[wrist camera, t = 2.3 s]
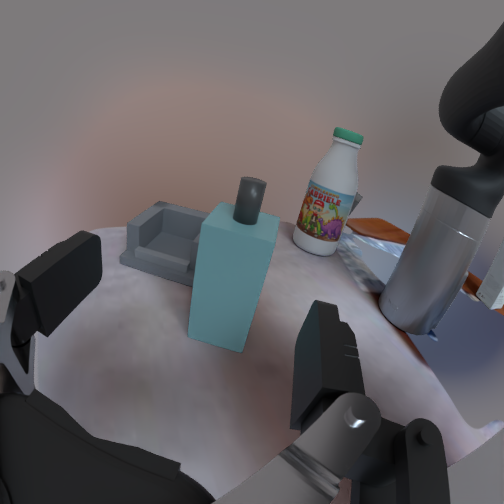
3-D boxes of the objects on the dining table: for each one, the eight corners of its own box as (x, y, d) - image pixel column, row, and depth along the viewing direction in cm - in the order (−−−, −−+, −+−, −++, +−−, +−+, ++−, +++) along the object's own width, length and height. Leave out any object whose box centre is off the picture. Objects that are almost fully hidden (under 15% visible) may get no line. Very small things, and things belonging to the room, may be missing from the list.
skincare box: (489, 310, 40) (522, 250, 33) (473, 294, 45) (503, 235, 38) (501, 308, 42) (530, 254, 35) (486, 293, 47) (514, 240, 40)
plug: (241, 353, 23) (287, 199, 16) (187, 336, 23) (209, 179, 17) (250, 317, 28) (289, 182, 21) (203, 303, 28) (227, 166, 21)
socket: (197, 288, 30) (202, 253, 27) (120, 263, 30) (119, 228, 28) (221, 247, 39) (226, 217, 37) (157, 229, 39) (159, 200, 37)
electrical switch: (330, 215, 64) (346, 180, 59) (349, 225, 63) (365, 191, 58) (319, 224, 57) (337, 184, 52) (341, 236, 55) (360, 196, 50)
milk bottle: (297, 230, 51) (329, 125, 41) (336, 245, 49) (373, 140, 39) (286, 245, 44) (322, 121, 35) (331, 263, 42) (374, 138, 33)
